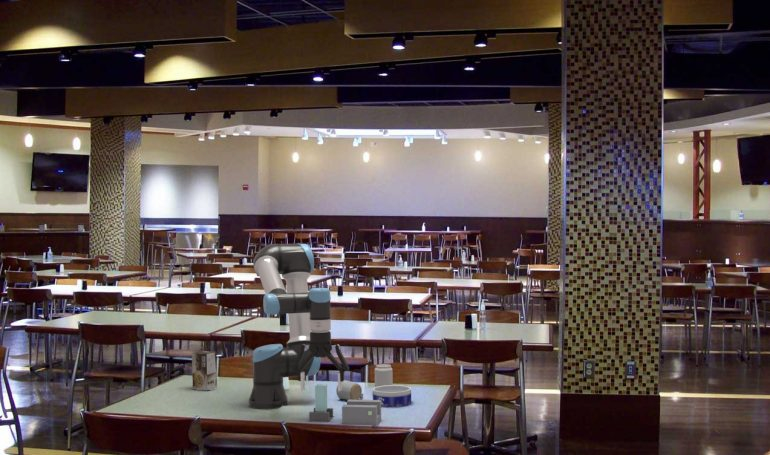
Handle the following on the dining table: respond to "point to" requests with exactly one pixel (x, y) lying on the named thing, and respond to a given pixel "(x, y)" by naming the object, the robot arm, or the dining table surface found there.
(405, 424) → the dining table surface
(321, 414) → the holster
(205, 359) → the coffee box
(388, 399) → the dog bowl
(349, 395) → the ceramic mug
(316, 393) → the plug
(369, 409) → the port
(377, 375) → the can
